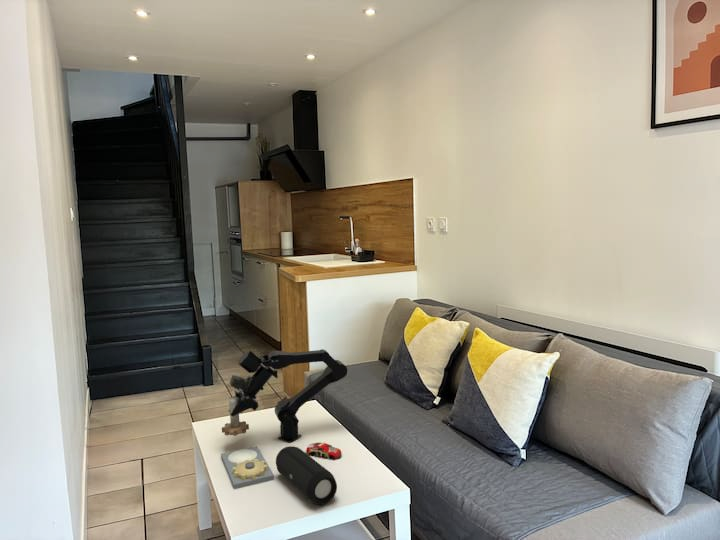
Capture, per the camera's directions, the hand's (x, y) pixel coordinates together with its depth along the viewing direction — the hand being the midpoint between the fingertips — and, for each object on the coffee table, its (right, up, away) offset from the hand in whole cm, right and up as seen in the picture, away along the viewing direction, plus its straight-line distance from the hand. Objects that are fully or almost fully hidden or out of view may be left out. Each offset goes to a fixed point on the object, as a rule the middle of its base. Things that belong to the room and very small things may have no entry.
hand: (230, 414), depth 198 cm
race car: (+35, -14, -5) cm, 38 cm away
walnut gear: (+2, -6, +1) cm, 7 cm away
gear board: (+9, -15, -13) cm, 22 cm away
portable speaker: (+30, -16, -27) cm, 44 cm away
